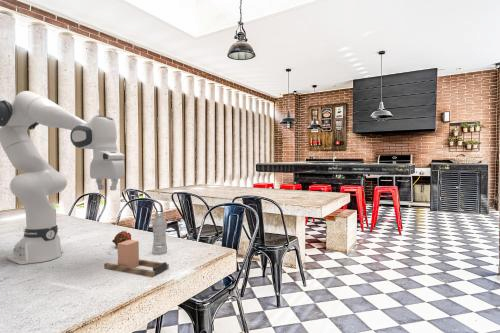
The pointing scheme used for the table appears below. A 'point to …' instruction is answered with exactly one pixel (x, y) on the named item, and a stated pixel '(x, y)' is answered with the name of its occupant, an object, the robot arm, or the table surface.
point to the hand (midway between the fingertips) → (107, 190)
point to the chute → (156, 270)
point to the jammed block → (128, 253)
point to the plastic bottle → (159, 233)
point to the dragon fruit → (121, 237)
